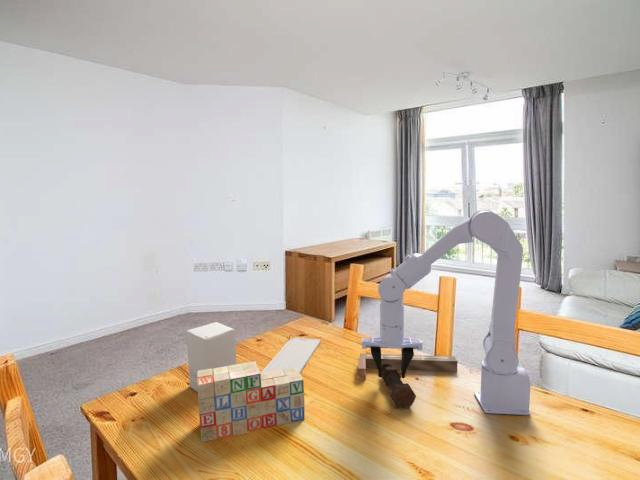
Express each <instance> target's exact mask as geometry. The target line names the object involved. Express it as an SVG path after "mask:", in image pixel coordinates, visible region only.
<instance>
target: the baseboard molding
mask: <svg viewBox="0 0 640 480" xmlns="http://www.w3.org/2000/svg"><path fill="white" fill-rule="evenodd" d="M295 336H297V337H294V338H290V337H291V335H289V336H286V338H287V339H288V341H287V342H286V343H285V344H284V346H283V347H282V348H281V349H280V350H279V351H278V352H277V353H276V355H275V356H274V357H273V358H271V360H270V362H269V363H268V364H267V365H266V366H265V367H264V368H263V369H262V371H260V373H265V372H271V371H277V370H284V369H289V368H295V367H296V368H297V370H298V372H299V373H300V374H301V373H302V371H303V370H304V369H305V367H306V365H307V364H308V363H309V360H310V359H311V358H312V356H313V354H314V353H315V352H314V351H316V350H317V348H318V347H319V345H320V344H321V343H322V341H321V336H319V337H317V339H316V338H315V339H314V338H310V336H308V334H305V333H304V334H301V336H303V337H309V338H303V337H299V335H297V334H295ZM318 338H319V339H318Z"/></svg>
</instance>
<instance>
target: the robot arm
mask: <svg viewBox="0 0 640 480" xmlns="http://www.w3.org/2000/svg"><path fill="white" fill-rule="evenodd" d="M473 237H474V238H475V239H476V240H478V241H480V242H481V243H484V244H485V245H488V246H489V247H490V249H492V250H493V251H494V252H495V253H496V255H497V259H496V269H495V280H494V289H493V296H492V297H493V298H492V308H491V309H492V311H491V320H490V324H489V326H488V332H487V334H486V335H485V336H484V338H483V343H482V344H483V349H484V353H485V357H484V358H483V359H482V361H481V372H480V375H481V376H480V391H475V392H474V396H475V398H476V400H477V401H478V403H479V405H480V407H481V408H482V411H483V412H484V413H485V414H495V415H496V414H497V415H520V416H530V415H531V413H532V412H531V411H530V401H531V380H530V376H529V373H528V371H527V370H526V368H524V367H523V366H519V364H520V359H519V356H518V354H517V352H516V331H515V328H516V321H517V320H516V319H517V311H518V303H519V302H518V301H519V293H520V284H521V283H520V282H521V273H522V266H523V265H522V264H523V257H524V256H523V255H524V247H523V245H522V244H521V242H520V240H519V239H518V237H517V235H516V234H515V233H514V230H513V229H512V227H511V225H510V224H509V222H508V221H506V220H505V219H504V218H502V217H501V216H500V215H499V214H497V213H495V212H494V211H492V210H489V209H480V210H477V211H476V212H474V213H473V214H472V215H471V216H470V217H467V218H464V219H463V220H461V221H460V222H459V223H458V224H456V225H455V226H453V227H452V228H451V229H449V230H448V231H447V232H446V233H445V234H444V235H442V236H441V238H439V239H438V240H437V241H436V242H434V244H432V245H431V246H430V247H428V248H427V249H426V250H425V251H424V252H423V253H417V252H416V253H412V254H411V255H410V254H407V255H406V256H405V257H404V259H403V260H404V261H403V262H402V263H400V264H399V265H398V266H397V267H395V268H391V269H390V270H389V273H388V274H387V275H385V276H384V277H383V278H382V280H381V281H380V282H379V283H378V287H377V288H378V289H377V290H378V291H377V292H378V295H379V297H380V303H379V304H380V305H379V336H375V337H374V336H373V337H365V338H364V337H363V338H361V349H362V350H366V349H367V348H368V349H370V354H372V357H373V359H374V361H375V363H376V366H377V369H376V370H377V372H378V378H382V371H381V354H382V350H381V349H393V350H394V349H395V350H396V349H401V355H402V363H401V370H400V375H401V379H406V374H407V371H408V370H407V367H408V365H409V363H410V361H411V360H412V358H413V356H414V355H415V352H414V350H418V351H423V341H422V339H415V338H409V337H404V333H405V332H404V328H405V305H404V293H405V291H406V290H410V289H412V288H413V287H414V286H415V285H416V284H418V283H419V282H420V281H422V280H423V279H424V278H425V277H426V276H428V275H429V274H430V273H431V271H432V264H434V263H436V261H438V260H440V258H441V257H443V256H445V255H446V254H447V253H448V252H450V251H452V250H453V249H454V248H455V247H457V246H458V245H461V244H468V243H469V244H470V243H474V239H473Z"/></svg>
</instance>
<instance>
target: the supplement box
mask: <svg viewBox="0 0 640 480" xmlns="http://www.w3.org/2000/svg"><path fill="white" fill-rule="evenodd" d="M185 333H186V334H185V335H186V349H187V360H188V361H187V362H188V363H187V364H188V376H189V377H188V378H189V387H190V388H191V389H193V390H194V391H195V392H197V393H198V386H197V375H198V371H199V370H206V369H214V368H219V367H225V366H230V365H236V364H238V363H237V345H236V344H237V343H236V329H235V328H232V327H230V326H227V325H225V324H222V323H220V322H218V321H215V322H211V323H208V324H205V325H200V326H198V327H194V328H191V329H187V330H186V331H185Z"/></svg>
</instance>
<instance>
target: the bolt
mask: <svg viewBox="0 0 640 480" xmlns="http://www.w3.org/2000/svg"><path fill="white" fill-rule="evenodd" d="M382 366H383V367H381V371H382V377H381V379H382V380H383V382H384V383H385V385H386V387H389V388H390V390H391V392H390V394H389V397H390V399H391V401H392V403H394V405H395V407H396V408H397V409H402V410H403V409H409V408H410V407H412V405H413V404H414V402H415V400H416V397H417V395H416V394H415V392H414V390H413V389H412V387H411V386H410V384H409V383H408V382H407V383H404V382H403V381H402V376H401V373H400V372H399V370H397V369H396V367H392V366H391V365H390V364H383V365H382Z"/></svg>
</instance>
